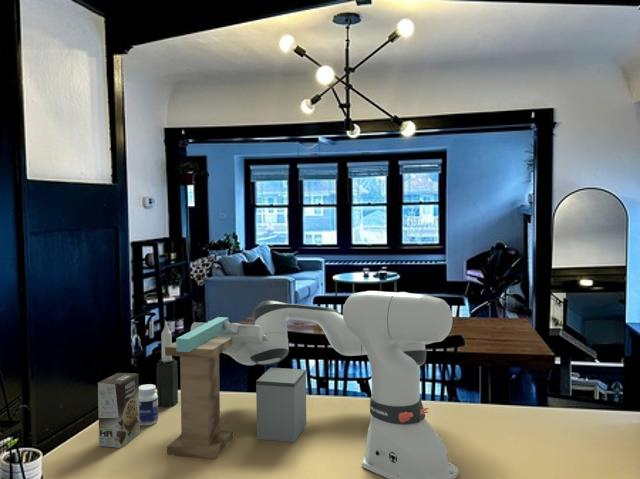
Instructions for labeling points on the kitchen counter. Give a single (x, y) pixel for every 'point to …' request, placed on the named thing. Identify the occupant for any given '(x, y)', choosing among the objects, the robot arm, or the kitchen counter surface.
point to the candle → (167, 374)
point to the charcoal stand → (281, 404)
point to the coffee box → (118, 409)
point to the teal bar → (200, 335)
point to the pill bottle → (148, 405)
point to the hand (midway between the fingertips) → (217, 324)
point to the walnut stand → (200, 401)
